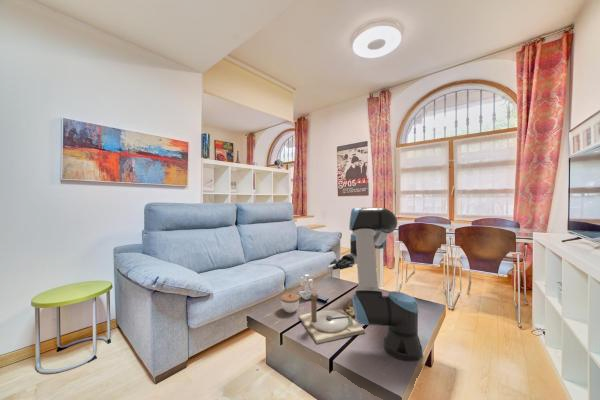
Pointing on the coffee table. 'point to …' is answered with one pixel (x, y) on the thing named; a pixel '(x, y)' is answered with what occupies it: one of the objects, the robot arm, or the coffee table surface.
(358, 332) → the beige flat board
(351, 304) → the cat figure
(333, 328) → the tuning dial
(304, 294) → the figurine
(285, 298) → the lidded jar
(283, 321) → the coffee table surface
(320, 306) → the coffee table surface
